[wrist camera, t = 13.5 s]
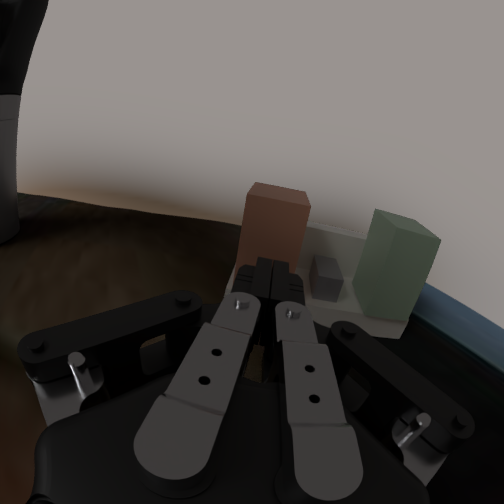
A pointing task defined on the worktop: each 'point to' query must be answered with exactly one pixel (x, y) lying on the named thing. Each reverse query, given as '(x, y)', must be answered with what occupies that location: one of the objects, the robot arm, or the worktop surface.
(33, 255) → the worktop surface
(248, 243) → the terracotta rectangular block
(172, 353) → the robot arm
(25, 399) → the worktop surface
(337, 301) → the console
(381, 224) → the green rectangular block
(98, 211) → the worktop surface
